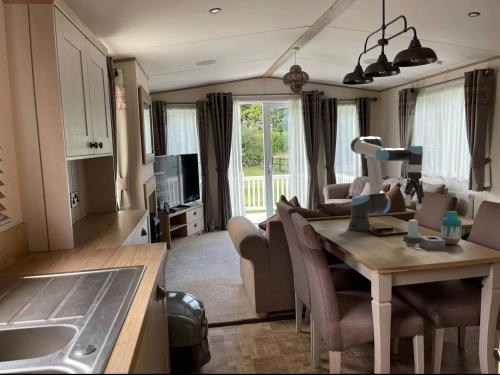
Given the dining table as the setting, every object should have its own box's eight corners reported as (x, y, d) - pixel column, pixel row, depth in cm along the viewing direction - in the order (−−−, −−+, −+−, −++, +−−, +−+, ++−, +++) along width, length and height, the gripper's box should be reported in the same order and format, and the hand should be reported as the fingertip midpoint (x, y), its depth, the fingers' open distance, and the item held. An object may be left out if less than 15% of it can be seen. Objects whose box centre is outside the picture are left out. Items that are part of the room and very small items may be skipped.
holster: (403, 239, 239) (403, 235, 239) (415, 239, 240) (415, 235, 239) (408, 242, 232) (409, 238, 232) (421, 242, 232) (421, 238, 232)
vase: (449, 247, 221) (451, 213, 219) (436, 242, 232) (437, 210, 229) (465, 245, 224) (466, 212, 222) (451, 241, 234) (452, 209, 232)
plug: (407, 240, 238) (408, 219, 236) (414, 240, 238) (415, 219, 236) (410, 241, 234) (411, 220, 232) (417, 241, 234) (418, 220, 232)
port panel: (419, 244, 227) (419, 235, 226) (436, 244, 227) (436, 235, 226) (427, 249, 217) (427, 239, 216) (445, 249, 217) (445, 239, 216)
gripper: (399, 170, 241) (398, 204, 244) (418, 173, 217) (417, 211, 219) (411, 170, 242) (409, 203, 244) (432, 173, 217) (430, 210, 220)
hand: (413, 207), depth 232 cm, fingers open, 13 cm apart
